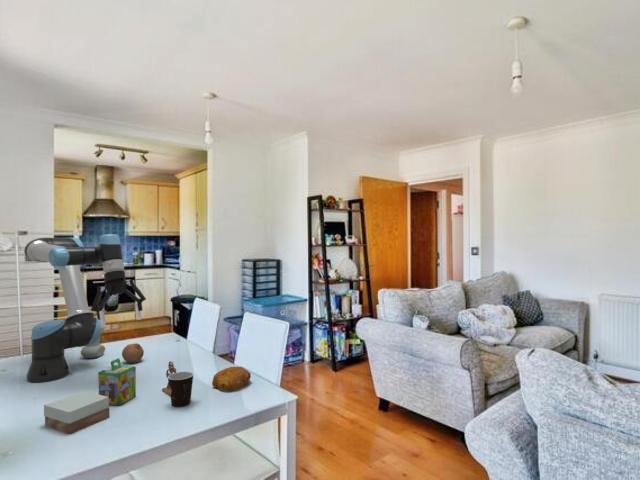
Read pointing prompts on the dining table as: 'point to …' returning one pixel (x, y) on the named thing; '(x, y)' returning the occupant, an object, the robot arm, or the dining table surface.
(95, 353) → the grey rounded lump
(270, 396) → the dining table surface
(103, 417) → the walnut base slab
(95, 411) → the grey-green top slab
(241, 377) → the potato
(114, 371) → the chalk box
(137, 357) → the onion
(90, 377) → the dining table surface
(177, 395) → the coffee mug
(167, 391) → the brown scrollwork ornament
